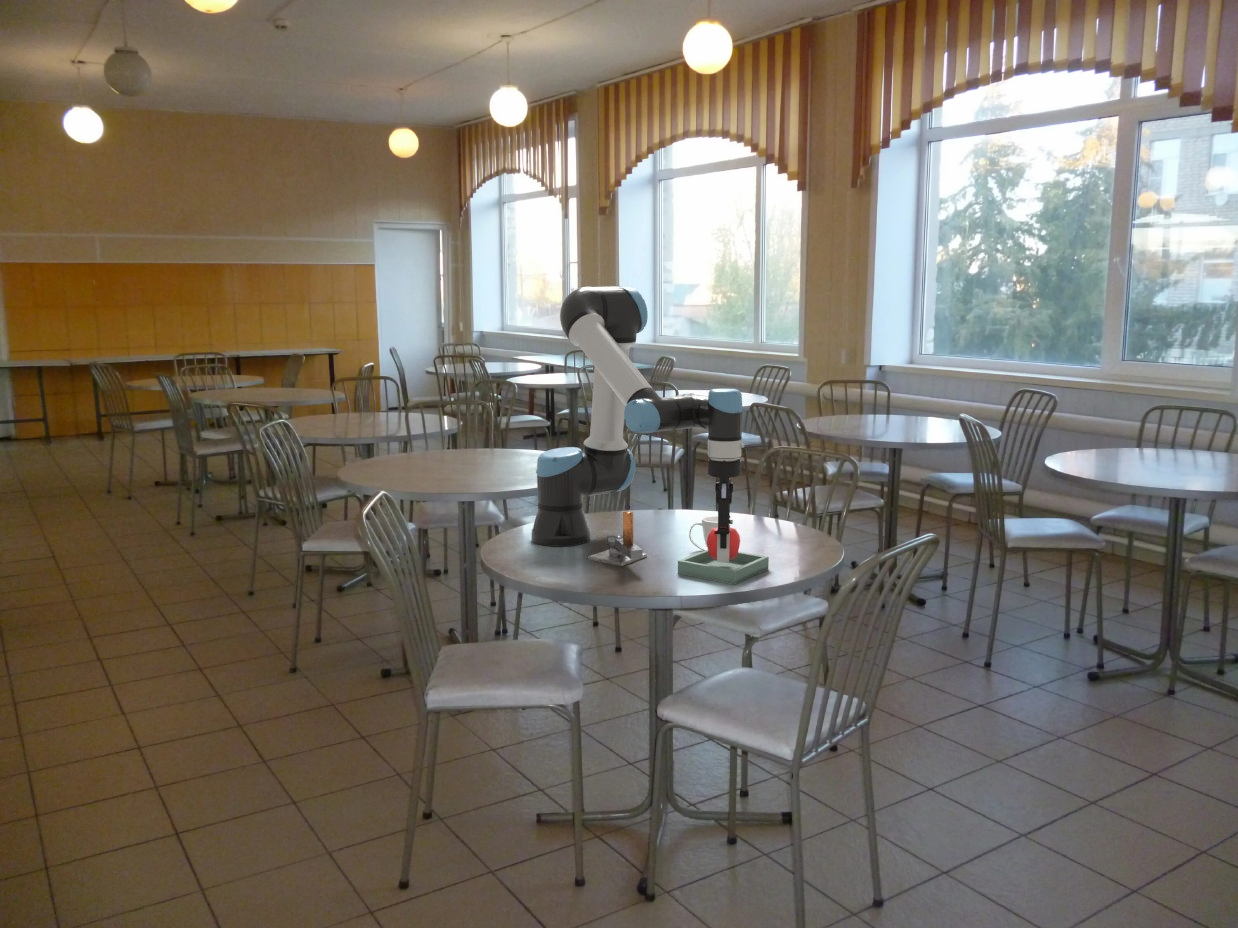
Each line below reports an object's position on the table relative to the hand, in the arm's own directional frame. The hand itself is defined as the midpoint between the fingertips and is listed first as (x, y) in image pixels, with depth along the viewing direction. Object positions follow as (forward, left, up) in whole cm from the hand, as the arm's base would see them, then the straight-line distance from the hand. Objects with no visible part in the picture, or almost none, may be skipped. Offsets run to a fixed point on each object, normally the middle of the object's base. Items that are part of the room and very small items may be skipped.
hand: (723, 556), depth 228 cm
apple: (0, 0, -1) cm, 1 cm away
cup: (-13, +14, -4) cm, 19 cm away
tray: (0, 0, -3) cm, 3 cm away
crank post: (-27, -5, -3) cm, 27 cm away
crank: (-22, -8, 0) cm, 23 cm away
